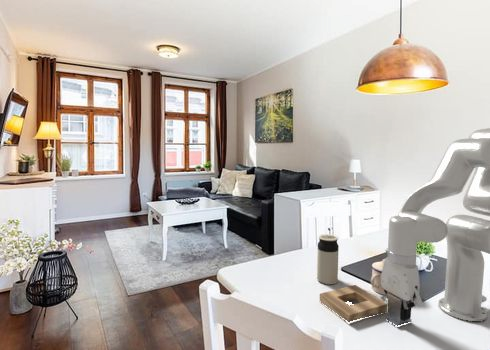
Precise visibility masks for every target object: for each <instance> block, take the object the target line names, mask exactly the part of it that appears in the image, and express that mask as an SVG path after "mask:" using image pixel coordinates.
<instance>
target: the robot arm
mask: <svg viewBox="0 0 490 350" xmlns="http://www.w3.org/2000/svg"><path fill="white" fill-rule="evenodd" d="M473 171H474V172H473ZM472 173H473V175H472ZM471 175H472V177H471ZM470 177H471V179H470V182H469V185H468V187H467V189H466V191H465V194H464V197H463V200H462V205H463V207H464V209H465V210H467V211H469V212H470V213H474V214H477V215H481V216H486V217H490V128H489V127H488V128H480V129H477V130H475V131H473V132H472V133H470V134H469V137H468V138H461V139H456V140H454V141H451V143H450V144H449V145H448V147H447V149H446V150H445V153H444V155H443V156H442V158H441V159H440V162H439V164H438V166H437V168H436V170H435V171H434V173H433V175H432V177H431V179H430V180H428V182H426V183H424V184H423V185H421V186H420V187H419V188H418V189H415V191H414V192H412V193H411V194H410V195H409V196H408V197H407V198H406V199H405V201H404V203H403V205H402V207H401V208H400V210H399V212H398V215H394V216H391V217H390V218H389V221H388V238H387V239H388V240H387V248H386V249H385V252H386V253H387V257H385V258H384V259H385V261H384V264H383V269H382V276H381V282H380V285H381V287H382V288H383V289H384V292H385V293H386V295H385V298H386V299H387V313H389V296H388V293H389V292H390V293H391V294H393V295H395V296H397V297H399V298H401V299H403V306H404V307H403V308H402V313H401V320H402V321H406V320H408V319H411V318H412V316H411V315H412V309H413V308H414V307H420V306H422V305H424V302H423V300H422V298H421V296H420V295H421V294H420V292H421V291H420V289H421V287H420V272H419V266H418V264H417V248H418V243H430V244H431V243H439V242H441V241H443V240H445V239H446V245H447V246H446V247H447V249H446V250H447V255H446V268H445V283H444V284H445V285H444V286H445V287H444V297H442V298H440V299H439V300H438V303H437V304H438V307H439V308H440V310H441V311H442V312H444V313H445V314H448V315H449V316H452V317H453V318H456V319H458V318H459V319H458V320H462V319H463V320H462V321H466V320H468V321H467V322H472V321H481V322H484V321H486V320H487V318H488V314H487V312H486V310H485V309H483V308H482V303H484V302H486V301H487V300H488V299H487V296H485V295H483V288H484V287H483V286H484V285H483V284H484V273H485V272H484V271H485V259H484V254H483V253H485V254H489V255H490V220H489V219H485V218H481V217H477V216H474V215H468V214H456V215H451V216H450V217H449V218H448V219H447V221H446V222H444V220H442V219H440V218H438V217H435V216H431V215H429V214H425V213H422V212H423V211H424V209H426V207H427V206H428V205H430V204H431V203H433V202H435V201H437V200H441V199H445V198H450V197H452V196H455V195H456V196H457V195H459V194H461V193H462V192H463V191H464V189H465V186H466V185H467V182H468V181H469V178H470ZM482 252H483V253H482ZM483 320H484V321H483Z"/></svg>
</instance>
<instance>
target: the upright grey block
mask: <svg viewBox="0 0 490 350" xmlns="http://www.w3.org/2000/svg"><path fill="white" fill-rule="evenodd" d="M388 296H389V312H387V313H388V314H387V315H388V316H386V317H385V320H386V319H387V320H388V321H390V322H392V323H394V324H395V325H397V326H398V325H401V324H404V323H408V322H411V323H412V319H411V318H410V319H408V320H406V321H402V320H401V313H402V308H403V307H404V306H403V299H401V298H399V297H397V296H395V295H393V294H391V293H390V292H389V293H388Z"/></svg>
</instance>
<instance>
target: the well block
mask: <svg viewBox="0 0 490 350" xmlns="http://www.w3.org/2000/svg"><path fill="white" fill-rule="evenodd" d="M320 301H321V302H322V303H323V304H324V305H326V306H327V307H328V308H330V309H331V310H333V311H334V312H335V313H337V314H338V315H339V316H341V317H342V318H344V319H345V320H347V321H348V322H350V321H353V320H357V319H360V318H365V317H369V316H373V315H377V314H381V313H384V314H386V313H385V312H387V313H388V302H386V301H383V300H382V299H380V298H378V297H377V296H375V295H373V294H371V293H370V292H369V291H366V290H365V289H363V288H361V287H360V286H358V285H356V284H354V285H353V284H352V285H349V286H345V287H342V288H337V289H333V290H329V291H325V292H321V293H319V302H320ZM347 301H349V302H352V304H354V305H350V306H349V305H348V304H346V303H345V302H347ZM322 303H321V304H322ZM323 304H322V305H323ZM324 305H323V306H324ZM327 307H326V308H327ZM328 308H327V309H328ZM381 315H382V314H381Z"/></svg>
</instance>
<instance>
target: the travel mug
mask: <svg viewBox="0 0 490 350" xmlns="http://www.w3.org/2000/svg"><path fill="white" fill-rule="evenodd" d="M318 239H319V241H318V243H317V261H316V262H317V263H316V267H317V268H316V269H317V270H316V275H317V276H316V280H317V279H318V280H319V281H320V283H321V282H322V284H324V283H325V284H324V285H335V284H336V283H338V281H339V279H338V278H339V243H338V240H339V237H338V236H337V235H334V234H330V233H329V234H328V233H327V234H326V233H325V234H319V235H318ZM318 280H317V281H318ZM319 281H318V282H319Z"/></svg>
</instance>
